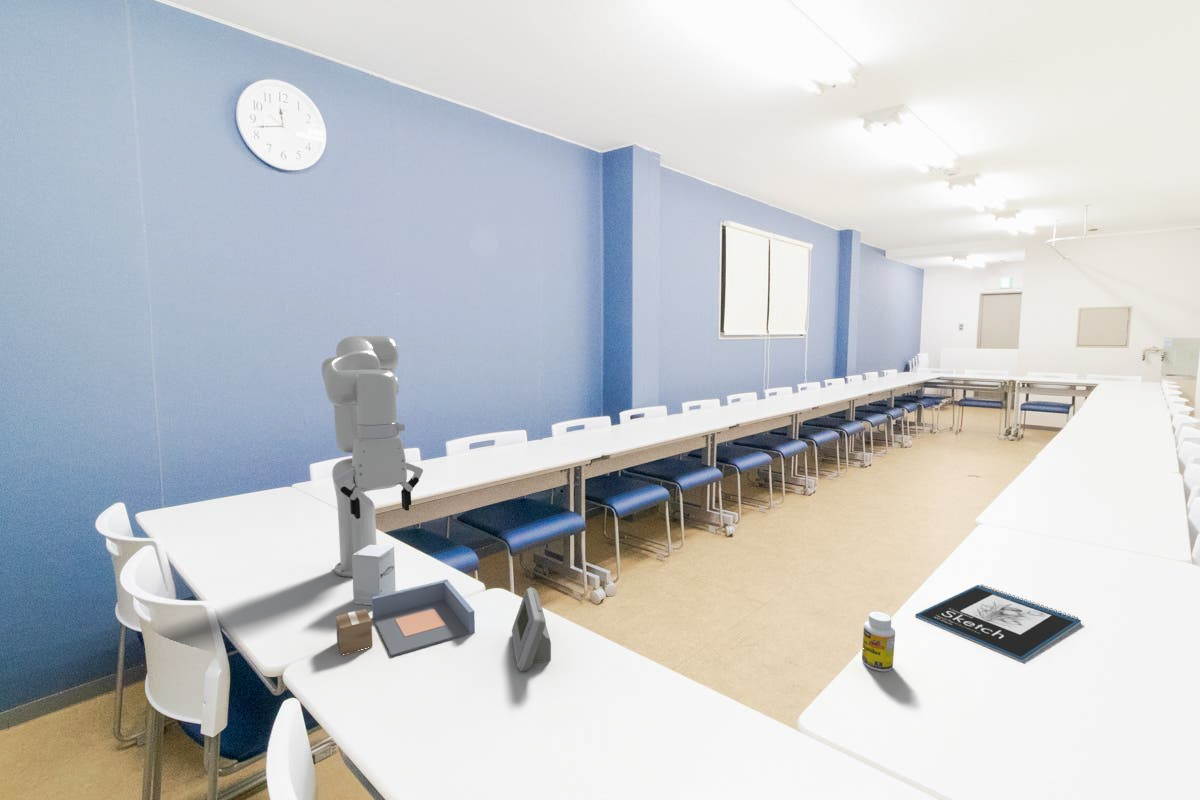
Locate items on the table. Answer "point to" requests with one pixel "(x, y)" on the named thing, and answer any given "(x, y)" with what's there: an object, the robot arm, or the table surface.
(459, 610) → the arena
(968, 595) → the sketchbook
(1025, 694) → the table surface
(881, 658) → the supplement bottle
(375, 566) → the supplement box
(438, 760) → the table surface
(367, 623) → the brown cardboard box
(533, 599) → the digital clock
